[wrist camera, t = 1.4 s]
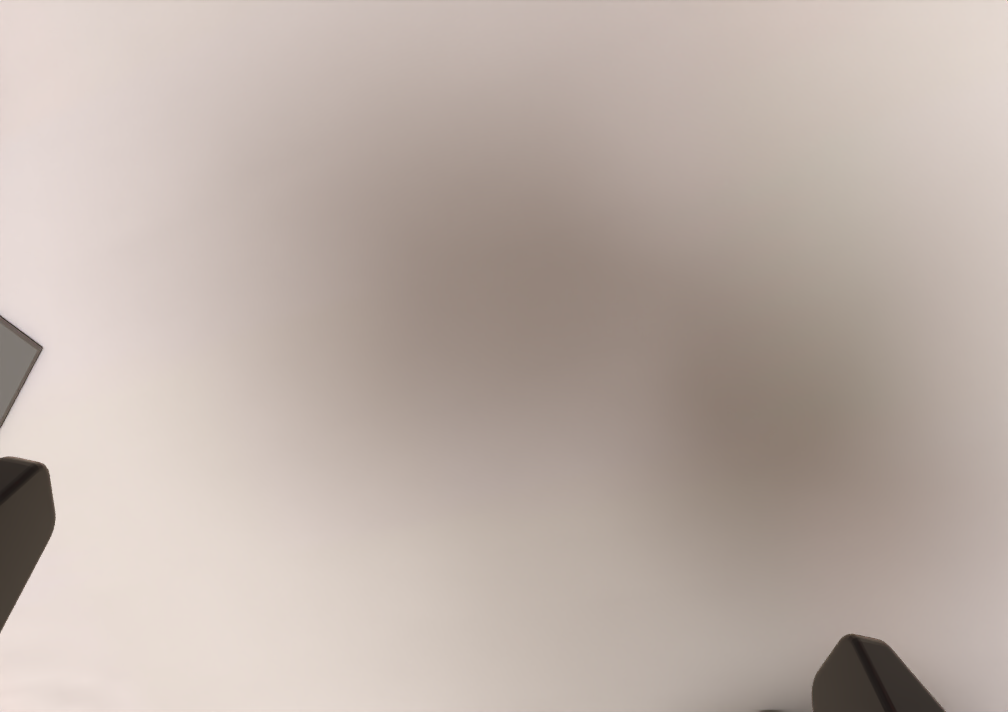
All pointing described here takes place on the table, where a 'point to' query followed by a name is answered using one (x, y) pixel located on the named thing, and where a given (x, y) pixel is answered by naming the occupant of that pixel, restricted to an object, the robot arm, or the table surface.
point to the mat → (14, 364)
